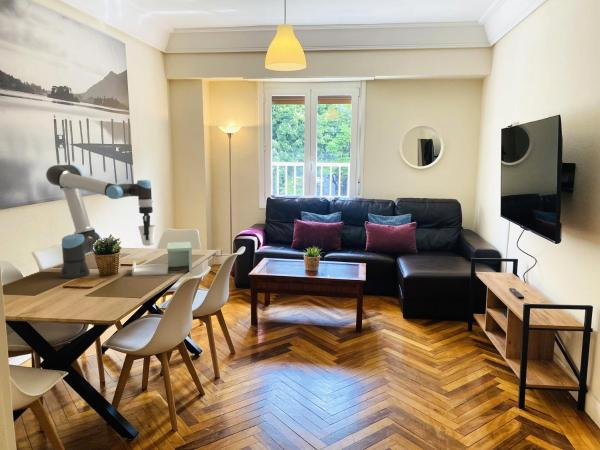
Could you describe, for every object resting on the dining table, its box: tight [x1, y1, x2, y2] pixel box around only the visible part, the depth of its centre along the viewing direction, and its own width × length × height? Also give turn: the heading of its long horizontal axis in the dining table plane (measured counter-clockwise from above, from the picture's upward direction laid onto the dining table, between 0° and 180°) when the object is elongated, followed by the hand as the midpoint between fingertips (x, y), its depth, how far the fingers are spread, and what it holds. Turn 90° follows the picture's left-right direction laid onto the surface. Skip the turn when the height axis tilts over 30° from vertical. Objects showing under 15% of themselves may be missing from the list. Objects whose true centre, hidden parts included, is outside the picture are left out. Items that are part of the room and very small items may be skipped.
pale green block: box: [166, 241, 193, 274], centre depth 272 cm, size 14×19×16 cm
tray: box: [131, 260, 169, 277], centre depth 267 cm, size 20×16×5 cm
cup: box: [137, 224, 156, 246], centre depth 263 cm, size 10×10×11 cm
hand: (148, 244), depth 264 cm, fingers closed on cup, 8 cm apart
